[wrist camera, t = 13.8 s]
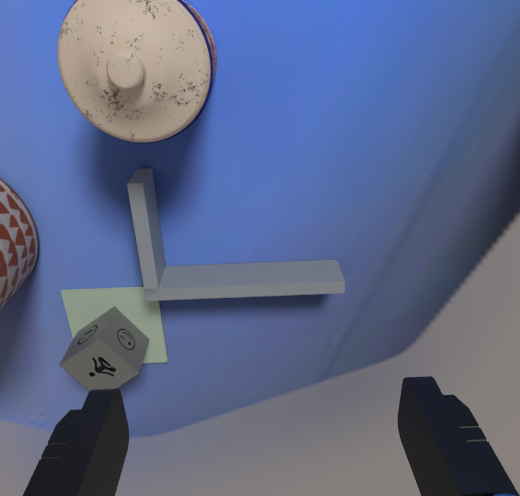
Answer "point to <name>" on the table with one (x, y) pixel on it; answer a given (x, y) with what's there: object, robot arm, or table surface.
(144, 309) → the mat
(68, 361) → the dice cube
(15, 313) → the table surface
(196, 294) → the pen walls
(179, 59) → the teacup with lid
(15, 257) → the planter
